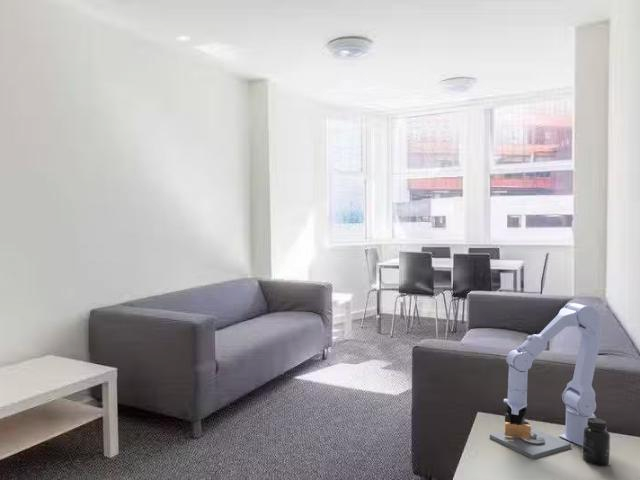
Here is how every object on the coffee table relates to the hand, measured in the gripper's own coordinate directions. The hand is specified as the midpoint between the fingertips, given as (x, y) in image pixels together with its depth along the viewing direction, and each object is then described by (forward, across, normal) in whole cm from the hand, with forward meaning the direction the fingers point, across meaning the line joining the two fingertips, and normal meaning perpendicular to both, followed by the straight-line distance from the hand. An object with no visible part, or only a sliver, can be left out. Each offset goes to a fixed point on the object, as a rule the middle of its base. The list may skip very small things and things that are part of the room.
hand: (515, 429), depth 154 cm
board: (+3, +2, +4) cm, 5 cm away
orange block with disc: (+1, +3, +3) cm, 4 cm away
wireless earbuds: (+3, -13, 0) cm, 13 cm away
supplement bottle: (+3, +5, +22) cm, 23 cm away
